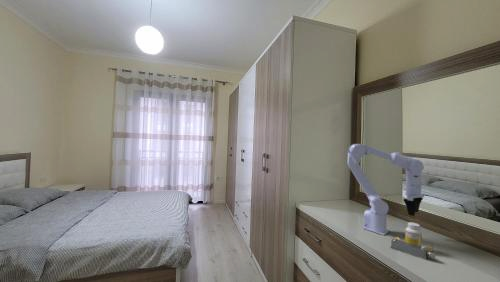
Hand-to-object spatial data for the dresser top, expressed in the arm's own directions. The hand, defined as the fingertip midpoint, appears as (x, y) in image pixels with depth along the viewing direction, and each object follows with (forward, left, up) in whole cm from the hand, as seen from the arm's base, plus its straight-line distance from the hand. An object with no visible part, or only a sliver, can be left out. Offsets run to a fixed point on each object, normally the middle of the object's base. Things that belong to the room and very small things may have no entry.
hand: (413, 213), depth 100 cm
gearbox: (+4, -21, -10) cm, 24 cm away
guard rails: (+2, -15, -10) cm, 19 cm away
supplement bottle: (+3, -14, -11) cm, 18 cm away
